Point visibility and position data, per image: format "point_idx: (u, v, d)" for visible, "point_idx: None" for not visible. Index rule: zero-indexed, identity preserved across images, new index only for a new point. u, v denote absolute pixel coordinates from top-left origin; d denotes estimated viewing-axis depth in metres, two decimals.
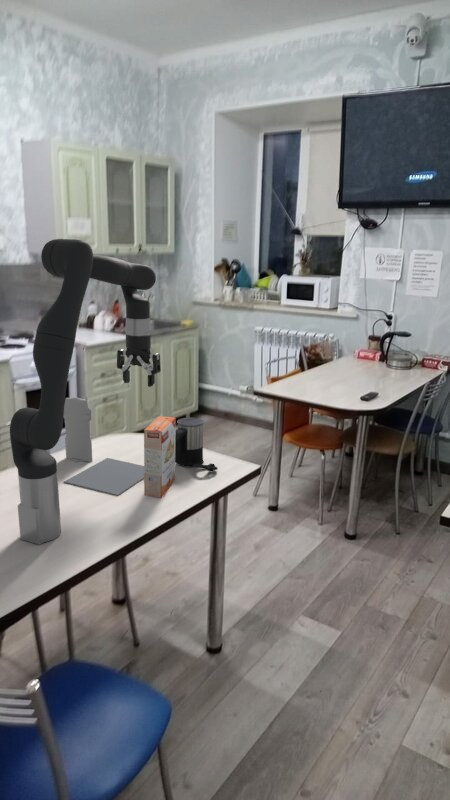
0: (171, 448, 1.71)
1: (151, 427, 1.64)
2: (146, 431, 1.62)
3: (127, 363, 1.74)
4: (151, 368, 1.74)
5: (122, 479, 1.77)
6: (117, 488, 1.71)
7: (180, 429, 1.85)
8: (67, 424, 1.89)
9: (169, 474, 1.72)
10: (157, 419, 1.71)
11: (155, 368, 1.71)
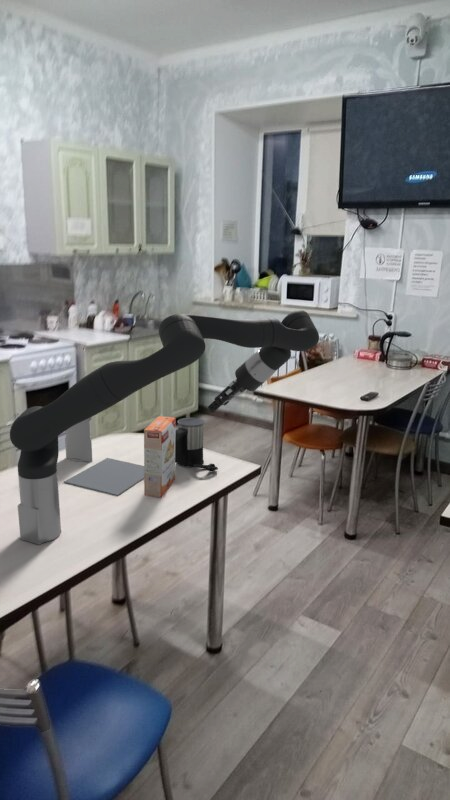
0: (171, 448, 1.71)
1: (151, 427, 1.64)
2: (146, 431, 1.62)
3: None
4: None
5: (122, 479, 1.77)
6: (117, 488, 1.71)
7: (180, 429, 1.85)
8: None
9: (169, 474, 1.72)
10: (157, 419, 1.71)
11: None
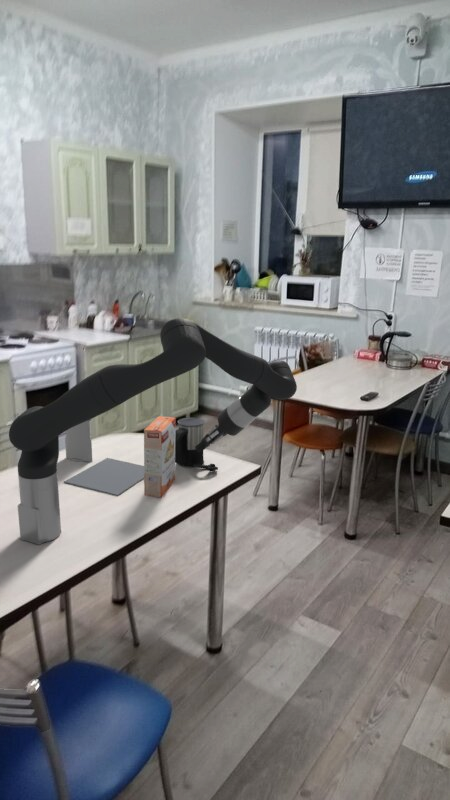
0: (171, 448, 1.71)
1: (151, 427, 1.64)
2: (146, 431, 1.62)
3: (216, 441, 1.60)
4: None
5: (122, 479, 1.77)
6: (117, 488, 1.71)
7: (180, 429, 1.85)
8: None
9: (169, 474, 1.72)
10: (157, 419, 1.71)
11: None
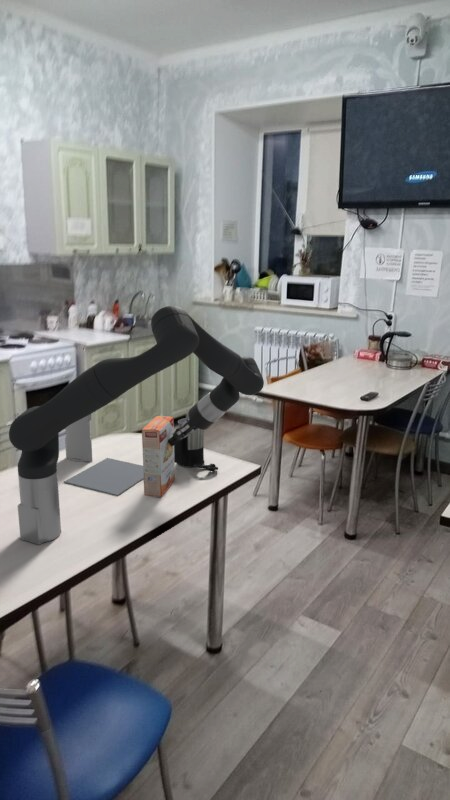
0: (170, 447, 1.71)
1: (148, 426, 1.64)
2: (144, 431, 1.62)
3: None
4: None
5: (122, 479, 1.77)
6: (117, 488, 1.71)
7: None
8: None
9: (168, 473, 1.72)
10: (155, 419, 1.71)
11: None
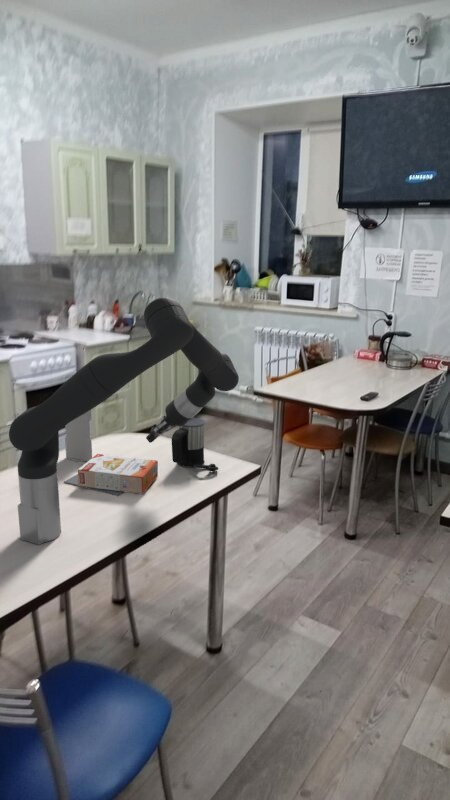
0: (114, 461, 1.76)
1: None
2: (79, 484, 1.71)
3: (165, 431, 1.66)
4: None
5: None
6: None
7: (181, 429, 1.85)
8: (67, 424, 1.89)
9: (136, 466, 1.73)
10: None
11: None
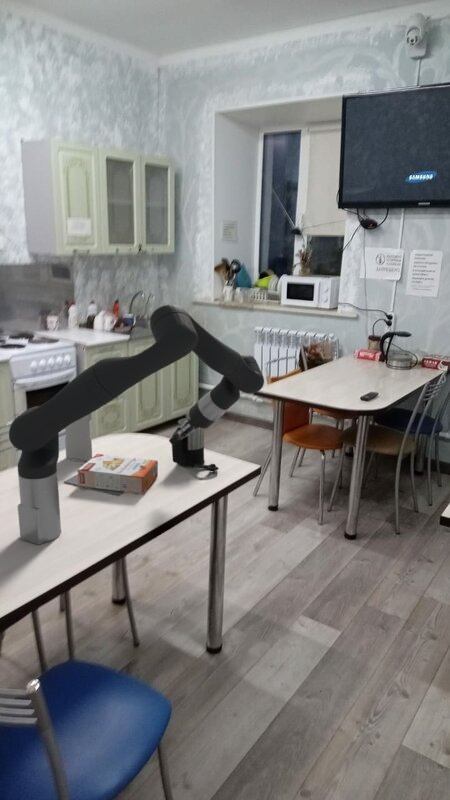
0: (114, 461, 1.76)
1: None
2: (79, 484, 1.71)
3: (189, 434, 1.64)
4: None
5: None
6: None
7: None
8: None
9: (136, 466, 1.73)
10: None
11: None
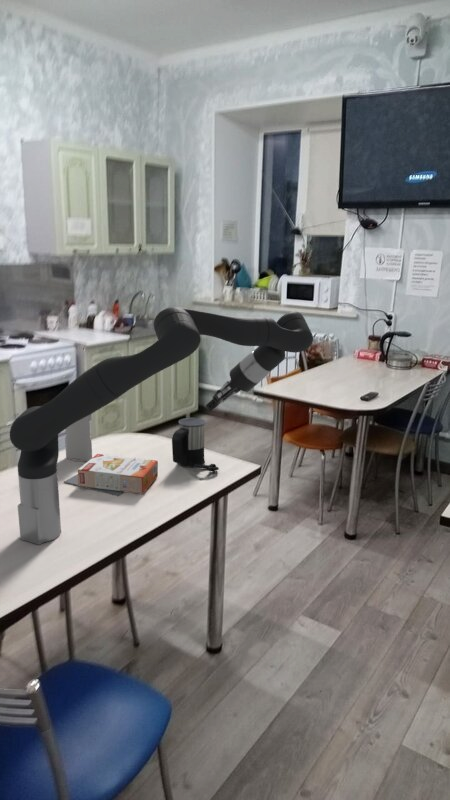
0: (114, 461, 1.76)
1: None
2: (79, 484, 1.71)
3: (228, 398, 1.55)
4: None
5: None
6: None
7: (181, 429, 1.85)
8: None
9: (136, 466, 1.73)
10: None
11: None
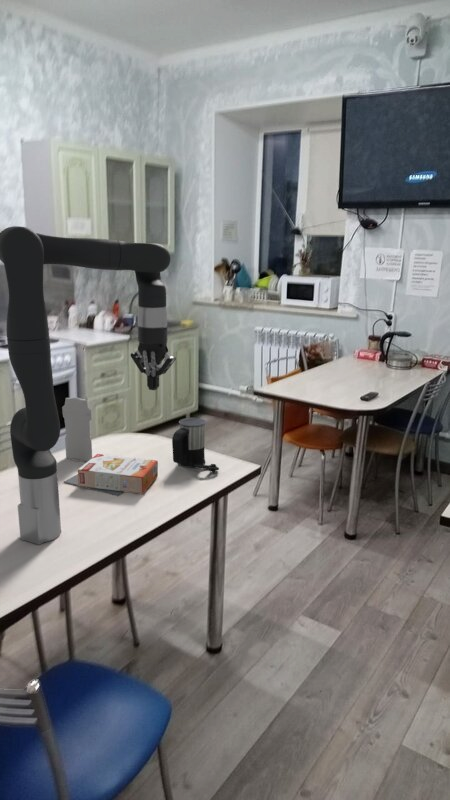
0: (114, 461, 1.76)
1: None
2: (79, 484, 1.71)
3: (146, 363, 1.47)
4: (158, 369, 1.49)
5: None
6: None
7: (182, 429, 1.85)
8: (67, 424, 1.89)
9: (136, 466, 1.73)
10: None
11: (162, 370, 1.46)
